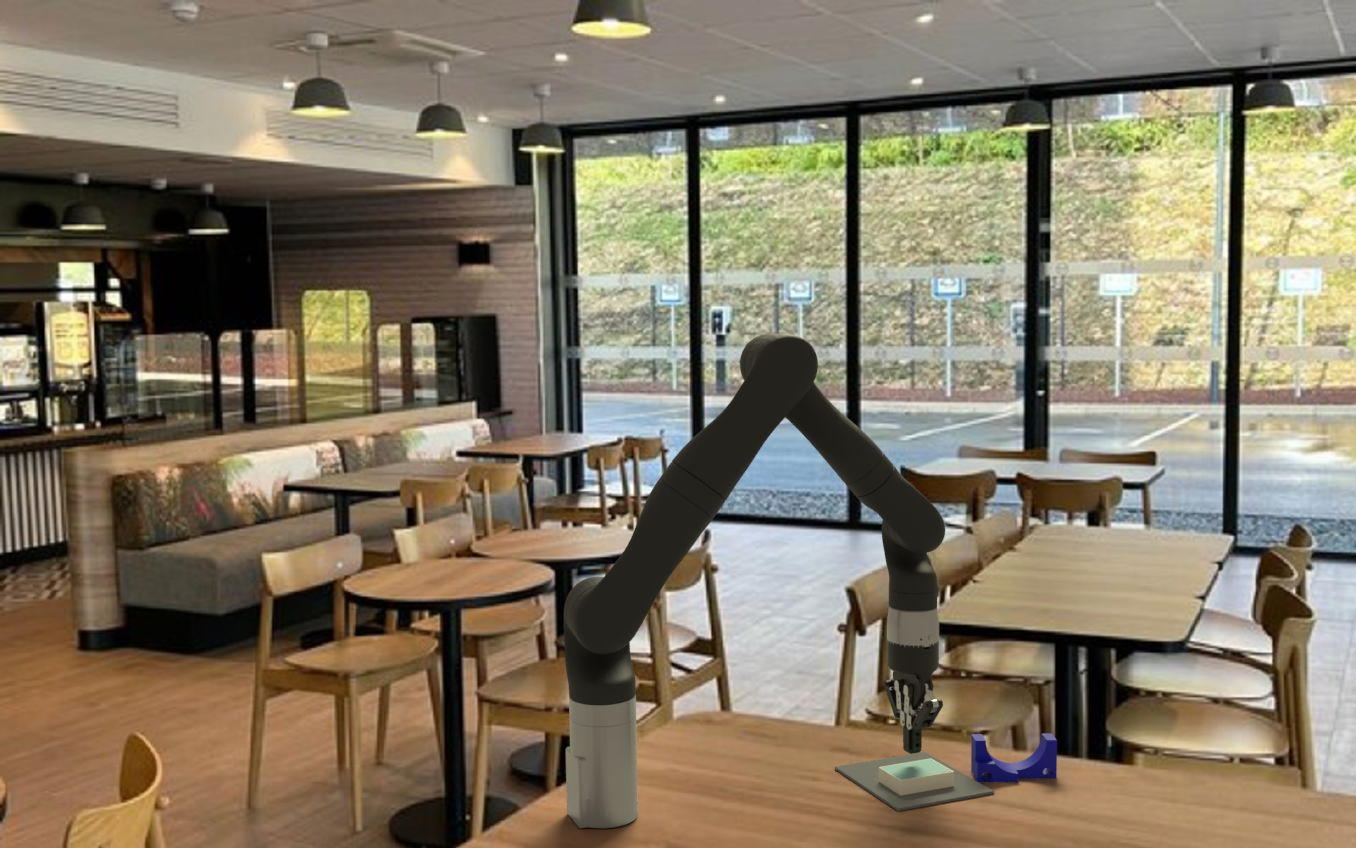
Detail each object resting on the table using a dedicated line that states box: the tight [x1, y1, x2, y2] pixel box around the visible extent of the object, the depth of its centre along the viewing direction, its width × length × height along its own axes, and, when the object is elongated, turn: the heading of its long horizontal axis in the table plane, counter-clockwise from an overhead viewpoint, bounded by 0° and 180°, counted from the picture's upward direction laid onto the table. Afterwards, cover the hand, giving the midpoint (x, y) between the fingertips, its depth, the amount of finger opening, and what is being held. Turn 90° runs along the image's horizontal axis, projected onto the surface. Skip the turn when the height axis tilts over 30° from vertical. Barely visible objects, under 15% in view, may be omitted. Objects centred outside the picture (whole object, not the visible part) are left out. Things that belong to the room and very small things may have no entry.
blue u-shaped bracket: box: [970, 732, 1058, 784], centre depth 196 cm, size 12×4×6 cm, turn 89°
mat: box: [834, 751, 995, 812], centre depth 195 cm, size 16×18×1 cm
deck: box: [879, 758, 954, 796], centre depth 193 cm, size 9×2×6 cm
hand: (912, 751), depth 195 cm, fingers closed
